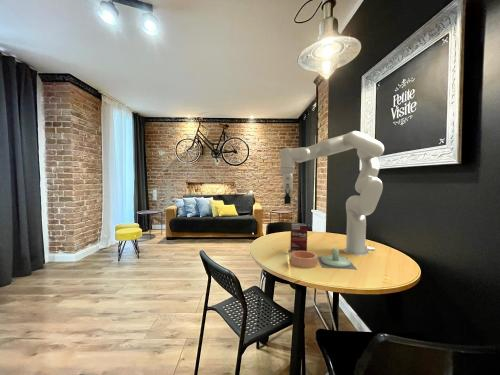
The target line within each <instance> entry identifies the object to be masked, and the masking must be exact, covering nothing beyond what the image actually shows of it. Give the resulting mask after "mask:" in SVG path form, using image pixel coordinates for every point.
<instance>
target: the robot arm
mask: <svg viewBox="0 0 500 375" xmlns="http://www.w3.org/2000/svg"><path fill="white" fill-rule="evenodd" d="M352 149H356V151H357V152H356V155H357V156H358V158H359V160H360V162H361V170H360V172H359V175H358V177H357V179H356V182H355V185H354V189H355V191H356V192H357V193H358V194H360V195H356V194H355V195H351V196H350V197H348V199H347V200H346V201H345V211H346V244H345V246H346V247H345V248H343V250H342V251H343V252H344V253H346V254H349V255H353V256H368V255H369V252H375V251H376V248H375V247H371V246H367V245H366V239H367V238H366V237H367V236H366V234H367V219H366V218H367V216H370V215H371V214H373V213H374V211H375V210H376V208H377V205H378V203H379V200H380V198H381V195H382V193H383V189H384V188H383V187H384V185H383V182H382V180H381V179H380V178H378V176H379V172H380V163H379V160H378V158H380V156H382V155H383V154H384V152H385V146H384V144H383V143H382V142H381V141H379V140H377V139H375V138H373V137H372V136H370V135H368V134H365V133H363V132H361V131H357V130H353V131H350V132H347V133H346V134H342V135H338V136H334V137H331V138H327V139H325V140H321V141H320V142H317V143H314V144H313V145H309V146H307V147H306V146H305V147H295V148H293V147H285V148H284V147H283V148H281V150H280V175H282V190H283V193H284V198H283V199H284V201H283V202H284V205H291V204H292V203H291V200H292V196H291V193H293V192H294V176H293V175H295V174H296V173H295V172H296V170H295V168H296V167H295V166H296V163H303V162H307V161H311V160H314V159H319V158H324V157H328V156H331V155H335V154H339V153H342V152H346V151H349V150H352Z"/></svg>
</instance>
